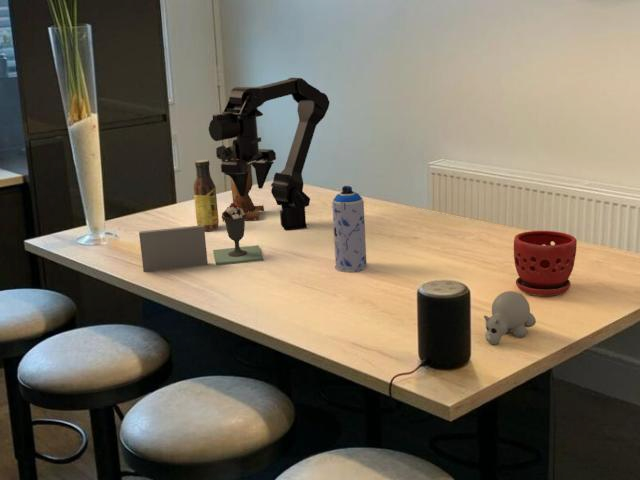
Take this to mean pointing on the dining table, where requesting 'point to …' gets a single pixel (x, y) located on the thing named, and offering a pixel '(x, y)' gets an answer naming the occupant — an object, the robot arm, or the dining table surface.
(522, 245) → the plant pot
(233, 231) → the sundae
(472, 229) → the dining table surface
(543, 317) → the dining table surface
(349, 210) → the aerosol can
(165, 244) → the partition board
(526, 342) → the dining table surface
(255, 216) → the bird sculpture
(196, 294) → the dining table surface
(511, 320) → the chubby cartoon animal
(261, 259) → the rubber mat
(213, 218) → the sauce bottle
